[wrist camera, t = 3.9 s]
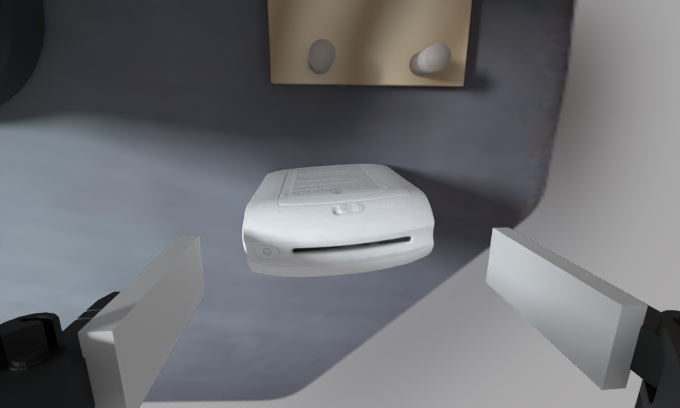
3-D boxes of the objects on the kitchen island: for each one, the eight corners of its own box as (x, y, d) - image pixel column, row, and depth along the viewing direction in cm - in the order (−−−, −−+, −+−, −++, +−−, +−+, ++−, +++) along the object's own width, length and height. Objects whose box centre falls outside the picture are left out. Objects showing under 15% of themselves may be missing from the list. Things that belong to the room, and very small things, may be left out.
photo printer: (266, 220, 27) (237, 303, 15) (259, 168, 26) (223, 214, 14) (390, 209, 28) (453, 281, 16) (389, 158, 27) (456, 195, 15)
